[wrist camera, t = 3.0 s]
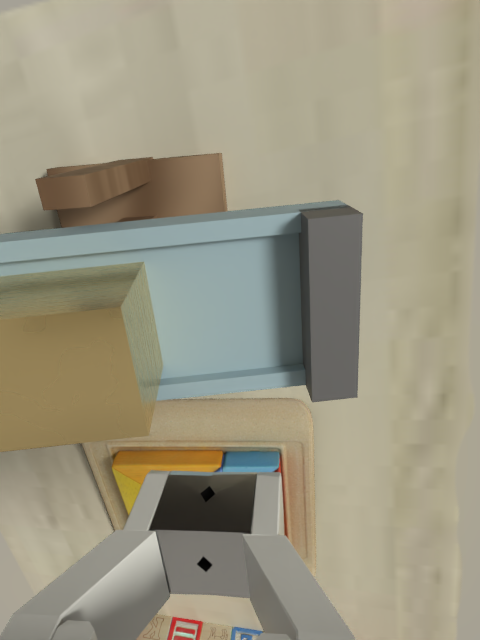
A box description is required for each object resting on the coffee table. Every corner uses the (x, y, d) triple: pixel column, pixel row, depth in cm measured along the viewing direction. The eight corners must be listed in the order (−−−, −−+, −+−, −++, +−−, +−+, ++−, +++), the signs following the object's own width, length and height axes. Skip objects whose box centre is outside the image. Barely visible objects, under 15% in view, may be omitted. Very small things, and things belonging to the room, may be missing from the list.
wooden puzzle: (130, 561, 41) (116, 598, 38) (82, 396, 33) (60, 425, 30) (316, 569, 38) (318, 609, 35) (311, 393, 31) (314, 424, 28)
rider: (143, 261, 18) (120, 307, 13) (163, 365, 20) (148, 435, 15) (-1, 276, 18) (-75, 327, 13) (33, 379, 20) (-20, 454, 15)
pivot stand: (221, 150, 24) (185, 166, 16) (240, 344, 29) (220, 430, 21) (54, 166, 25) (-57, 186, 17) (100, 347, 30) (30, 430, 22)
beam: (339, 200, 18) (362, 213, 16) (337, 361, 22) (357, 397, 19) (-178, 251, 18) (-253, 275, 15) (-100, 408, 21) (-149, 452, 18)
